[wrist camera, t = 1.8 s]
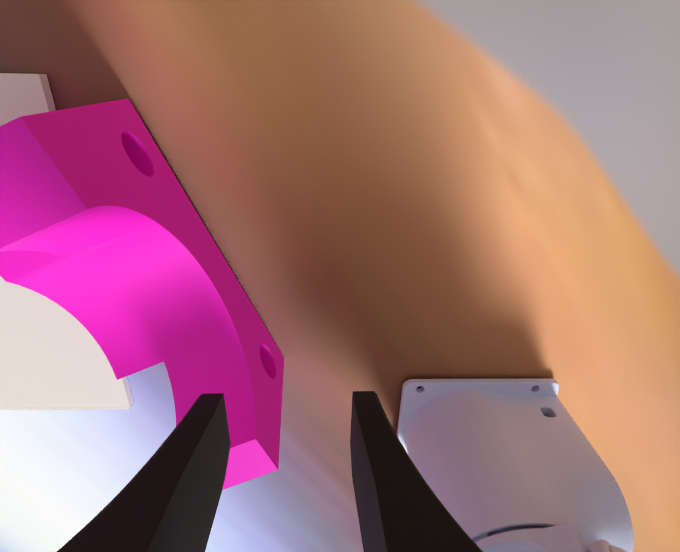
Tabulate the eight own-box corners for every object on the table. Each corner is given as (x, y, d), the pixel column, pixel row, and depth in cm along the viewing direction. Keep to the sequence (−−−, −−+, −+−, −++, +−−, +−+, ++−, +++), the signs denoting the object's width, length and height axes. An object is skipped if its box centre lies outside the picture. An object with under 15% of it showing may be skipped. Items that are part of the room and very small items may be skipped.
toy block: (2, 157, 18) (-176, 210, 11) (128, 98, 17) (20, 117, 11) (188, 395, 25) (147, 516, 18) (284, 357, 24) (277, 469, 17)
